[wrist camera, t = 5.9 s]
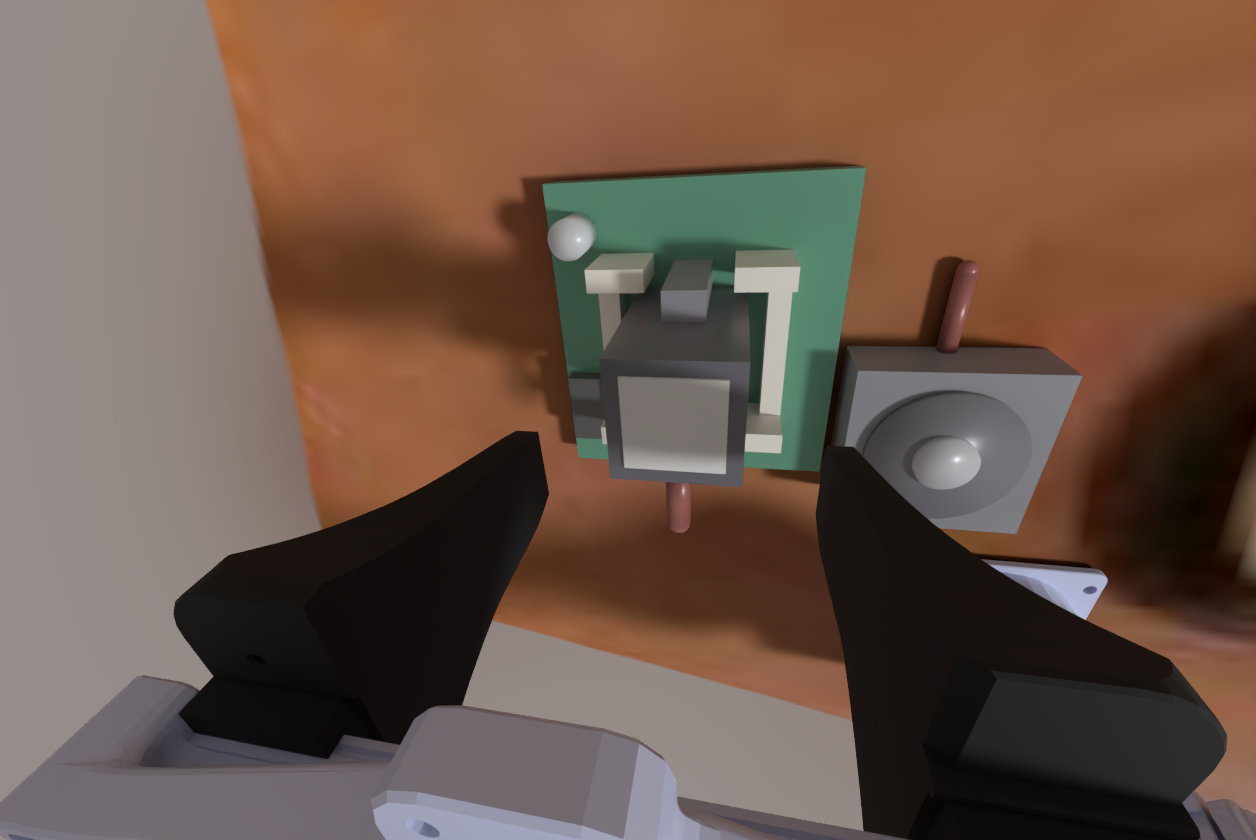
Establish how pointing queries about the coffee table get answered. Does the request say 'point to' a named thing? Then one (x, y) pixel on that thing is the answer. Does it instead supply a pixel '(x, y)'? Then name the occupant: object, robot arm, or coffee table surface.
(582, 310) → the board
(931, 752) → the robot arm
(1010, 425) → the grey dished knob block
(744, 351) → the plug
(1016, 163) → the coffee table surface
